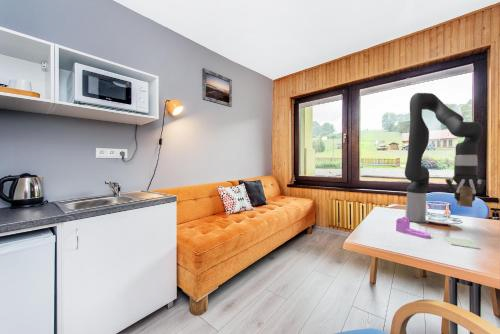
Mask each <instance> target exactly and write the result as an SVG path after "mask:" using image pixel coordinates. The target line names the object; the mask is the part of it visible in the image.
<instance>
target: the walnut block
mask: <svg viewBox="0 0 500 334" xmlns="http://www.w3.org/2000/svg"><path fill="white" fill-rule="evenodd" d="M459 193H460V201H457V200H456V205H458V206H459V207H465V208H466V207H468V208H469V207H470V208H472V207H473V202H472V194H473V187H468V186H462V187H461V188H460V192H459Z"/></svg>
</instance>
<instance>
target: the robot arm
mask: <svg viewBox="0 0 500 334" xmlns="http://www.w3.org/2000/svg"><path fill="white" fill-rule="evenodd" d="M423 110H427V111H430V112H433V113H434V114H435V119H437V121H438V122H440V123H441V124H442V125H444V127H446V128H447V130H448V131H449V133H450V134H451V135H453V136H454V137H458V138H464V139H463V140H462V142H458V143H456V145H455V156H454V163H453V164H454V165H453V166H454V167H453V169H454V170H453V171H454V172H453V176H452V177H451V178H445V182H446V185H447V187H448V191H450V192H453V193H454V199H455V201H456V202H457V201H460V193H459V192H460V188H461V187H462V186H467V187H473V194H472V203H473V202H475V201H476V194H480V193H482V192H483V190H484V188H485V186H486V184H487V180H484V179H479V177H478V144H479V143H480V140H481V138H482V135H483V132H484V128H483V126H482V124H481V123H480V122H477V121H464V117H463V115H462V114H459V113H458V112H457V111H455V110H453V109H452V108H449V107H448V106H447V105H446V104H445V103H444V102H443V101H442V100H441V99H440V98H439V97H438V96H437V95H436V94H434V93H431V92H416V93H414V94H413V95H412V96H411V98H410V100H409V133H408V134H409V135H408V147H407V157H406V163H405V168H404V176H405V178H406V179H407V180H408V181H410V184H409V185H408V186H407V187H406V203H405V215H404V217H407V218H408V219H409V220H410V222H412V223H413V222H414V223H421V224H422V223H426V218H427V217H426V216H427V190H428V189H429V184H430V183H429V182H430V171H429V169H428V168H427V167H426V166H423V165H422V158H423V156H424V154H425V151H426V150H427V147H428V146H429V139H430V130H429V128H428V125H427V124H426V122H425V120H424V118H423ZM454 182H455V183H456V184H455V188H454V185H453V184H454ZM476 183H477V186H476V187H475V184H476Z"/></svg>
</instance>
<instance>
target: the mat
mask: <svg viewBox="0 0 500 334" xmlns="http://www.w3.org/2000/svg"><path fill="white" fill-rule="evenodd" d="M443 238H444V239H445V240H446V242H448V243H449V244H450V245H451V246H456V247H464V248H469V249H470V248H471V249H476V250H481V248H480V247H479V246H478V245H477V244H475V243H474V242H473V241H472V240H471V239H465V238H460V237H459V238H458V237H457V238H456V237H452V236H451V237H450V236H443Z"/></svg>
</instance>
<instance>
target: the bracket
mask: <svg viewBox="0 0 500 334" xmlns="http://www.w3.org/2000/svg"><path fill="white" fill-rule="evenodd" d="M395 223H396V224H395V225H396V226H395V231H396V232H398V233H399V232H400V233H404V234H408V235H410V236H411V235H412V236H415V237H419V238H424V239H430V238H431V234H430V233H428V232H425V231H421V230H418V229H417V230H416V229H413V228H411V227H410V225H411V221H410V220H409V219H408V218H407V217H405V216H403V217H399V218H397V219H396V221H395Z"/></svg>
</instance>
